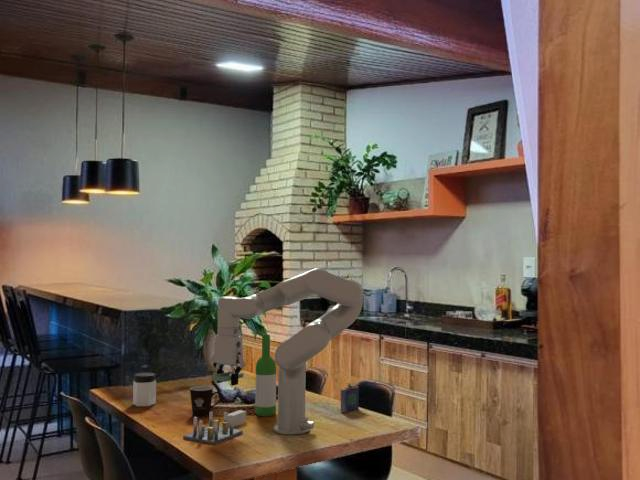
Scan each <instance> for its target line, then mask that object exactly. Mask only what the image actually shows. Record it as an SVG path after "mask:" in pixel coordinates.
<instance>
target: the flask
mask: <svg viewBox="0 0 640 480" xmlns="http://www.w3.org/2000/svg"><path fill="white" fill-rule="evenodd" d="M346 385H347V386H346V387H344V388H340V413H341V414H347V413H351V412H355V411H359V408H360V407H359V402H360V401H359V400H360V396H359V394H360V387H359V386H357V385H352V384H351V383H350V382H347V383H346Z"/></svg>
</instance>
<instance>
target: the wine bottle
mask: <svg viewBox="0 0 640 480" xmlns="http://www.w3.org/2000/svg"><path fill="white" fill-rule="evenodd" d="M276 385H277V364H276V362H275V358H273V357H271V336H270V334H262V337H261V357H259V358H258V359H257V361H256V363H255V397H254V398H255V401H254V403H255V406H254V407H255V414H256V415H257V416H259V417H272V416H274V415H275V414H276V412H277V408H276V407H277V396H276Z"/></svg>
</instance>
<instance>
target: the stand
mask: <svg viewBox="0 0 640 480" xmlns="http://www.w3.org/2000/svg"><path fill="white" fill-rule="evenodd" d="M230 415H233V428H235V427H238V426H240V425H242V424H246V423H247V411H246V410H241V409H239V410H236V411H233V412H231V413H227V422H228V428H230Z"/></svg>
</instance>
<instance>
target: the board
mask: <svg viewBox="0 0 640 480" xmlns="http://www.w3.org/2000/svg"><path fill="white" fill-rule="evenodd" d="M231 374H233V373H232V370H229V371H226V372H225V371H224V373H220V374H217V373H216V374H211V375H210V377H211V378H210V379H211V381H222V382H221V383H225V382H231ZM243 378H244V372H240V373H238V380H239V379H243Z"/></svg>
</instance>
